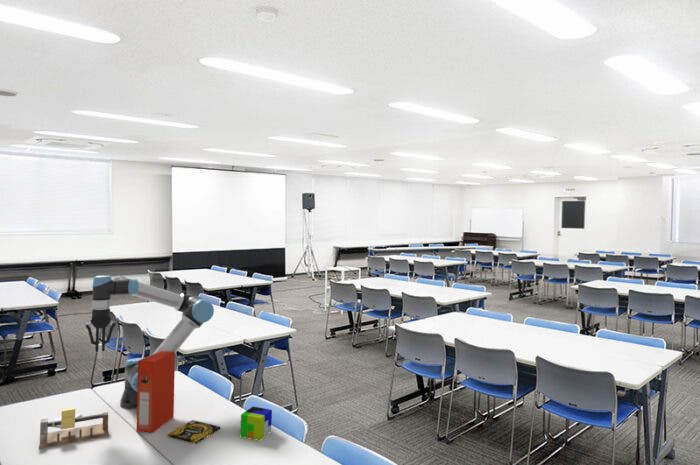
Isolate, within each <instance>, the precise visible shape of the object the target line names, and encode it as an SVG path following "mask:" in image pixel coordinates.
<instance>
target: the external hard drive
mask: <svg viewBox="0 0 700 465" xmlns="http://www.w3.org/2000/svg"><path fill="white" fill-rule="evenodd" d="M79 417H83V414H82V413H75V418H79ZM54 420H55V421H60V420H61V415H60V416H59V417H57V418H55V419H53V420H51V421H50V422H52V421H54ZM55 427H56V428H61V425H57V426H55Z"/></svg>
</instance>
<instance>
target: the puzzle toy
mask: <svg viewBox="0 0 700 465" xmlns="http://www.w3.org/2000/svg"><path fill="white" fill-rule="evenodd" d="M272 414H273V410H272V409H269V408H266V407H265V408H264V407H258V406H252V407H250V408H248V409H247V410H245V411H244V412H243V413H241V414H240V431H239V433H240V435H239V436H241V437H240V438H244V437H246V438H245V439H248V438H251V439H250V440H253V439H257V440H256V441H258V440H261V439H262V438H263V437H264V436H265V437H267V434H268V433H269V432H270V433H271V432H272V427H273V426H272V421H273V417H272V416H273V415H272ZM270 433H269V434H270ZM269 434H268V435H269ZM265 437H264V438H265ZM264 438H263V439H264ZM263 439H262V440H263ZM262 440H261V441H262Z"/></svg>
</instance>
